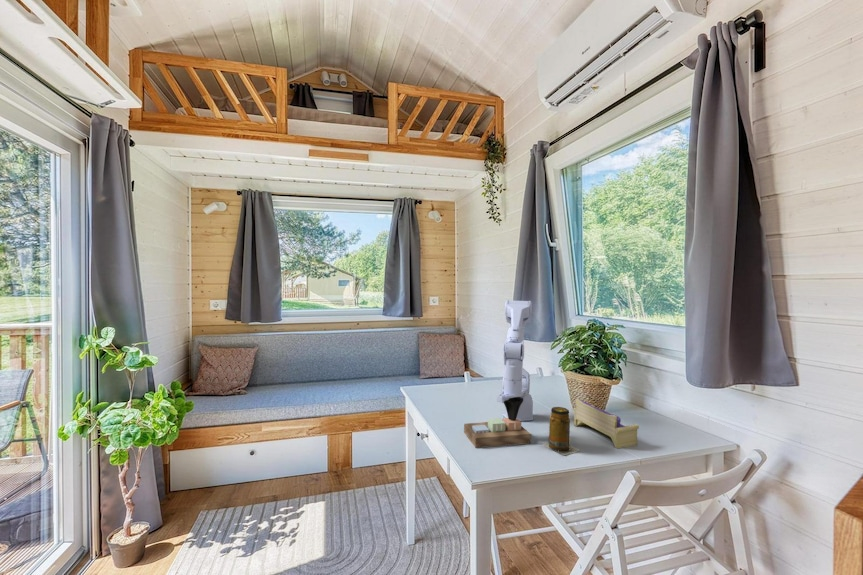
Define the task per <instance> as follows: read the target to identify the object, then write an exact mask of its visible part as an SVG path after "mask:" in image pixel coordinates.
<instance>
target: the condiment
mask: <svg viewBox="0 0 863 575" xmlns="http://www.w3.org/2000/svg"><path fill="white" fill-rule="evenodd" d="M550 410H551V412H550V416H549V427H548V428H549V432H548V435H549V436H548V438H549V439H548V443H544V444H542V446H544V447H546V448H548V449H549V450H551V451H554V452H556V453H558V454H561V455H563V456H566V455H571V454H574V453H577V452H579V451H581V449H578V448H576V447H573V445H572V446H571V445H570V432H571V431H570V429H571V420H570V411H569V409H567V408H566V407H561V406H554V407H552V408H551V409H550Z"/></svg>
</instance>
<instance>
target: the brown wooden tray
mask: <svg viewBox="0 0 863 575" xmlns="http://www.w3.org/2000/svg"><path fill="white" fill-rule="evenodd" d="M474 425H485V426H486V427H487V428H488V421H485V422H484V421H483V422H470V423H469V422H468V423H464V424H463V433H464V434H465V437H466V438H468V440H469V441H470V442H471V444H472V445H473V447H474V448H475V449H478V448H487V447H500V446H501V447H502V446H513V445H525V444H531V442H532V441H531V438H532V437H531V436H532V435H531V433H530V432H529V431H528V430H527V429H526V428H524V426H523V425H521V430H514V431H508V430H507V429H505V431H501V432H491V431H490V429H489V428H488V429H489V432H487V433H475V432H474V431H473V430H472V426H474Z"/></svg>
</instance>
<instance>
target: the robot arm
mask: <svg viewBox="0 0 863 575" xmlns="http://www.w3.org/2000/svg"><path fill="white" fill-rule="evenodd" d="M532 310H533V302H532V301H531V300H509V299H507V300H506V301H505V304H504V315H505V320H506V323H509V325H510V327H509V328H507V332H506V339H505V343H504V344H503V349H502V350H503V352H502V353H503V354H502V355H503V365H504V371H503V376H502V384H501V385H502V386H501V387H502V388H501V393H499V395H497V396H496V397H497V399H496V401H497V402H498V403H501V404H504V407H505V412H502V413H501V415H502V416H503V418H509V419H510V420H513V421H514V420H516V418H517V419H518V420H519V421H521V422H524V421H525V422H526V421H534V418H533V416H534V414H533V410H534V406H533V405H534V400H533V398H532V395H531V393H530V384H531V382H530V381H531V380H530V378H531V377H530V376H531V375H530V372H529V371H528V370H526V369H525V368H524V364H523V361H524V359H525V344H524V340H525V339H524V337H525V328H526V325H529V324H531V321H532V312H533V311H532Z"/></svg>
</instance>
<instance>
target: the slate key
mask: <svg viewBox="0 0 863 575" xmlns="http://www.w3.org/2000/svg"><path fill="white" fill-rule="evenodd" d="M472 430H473V431H474V432H475V433H487V432H489V429H488V428H487V427H486V426H485V425H474V426H472Z"/></svg>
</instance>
